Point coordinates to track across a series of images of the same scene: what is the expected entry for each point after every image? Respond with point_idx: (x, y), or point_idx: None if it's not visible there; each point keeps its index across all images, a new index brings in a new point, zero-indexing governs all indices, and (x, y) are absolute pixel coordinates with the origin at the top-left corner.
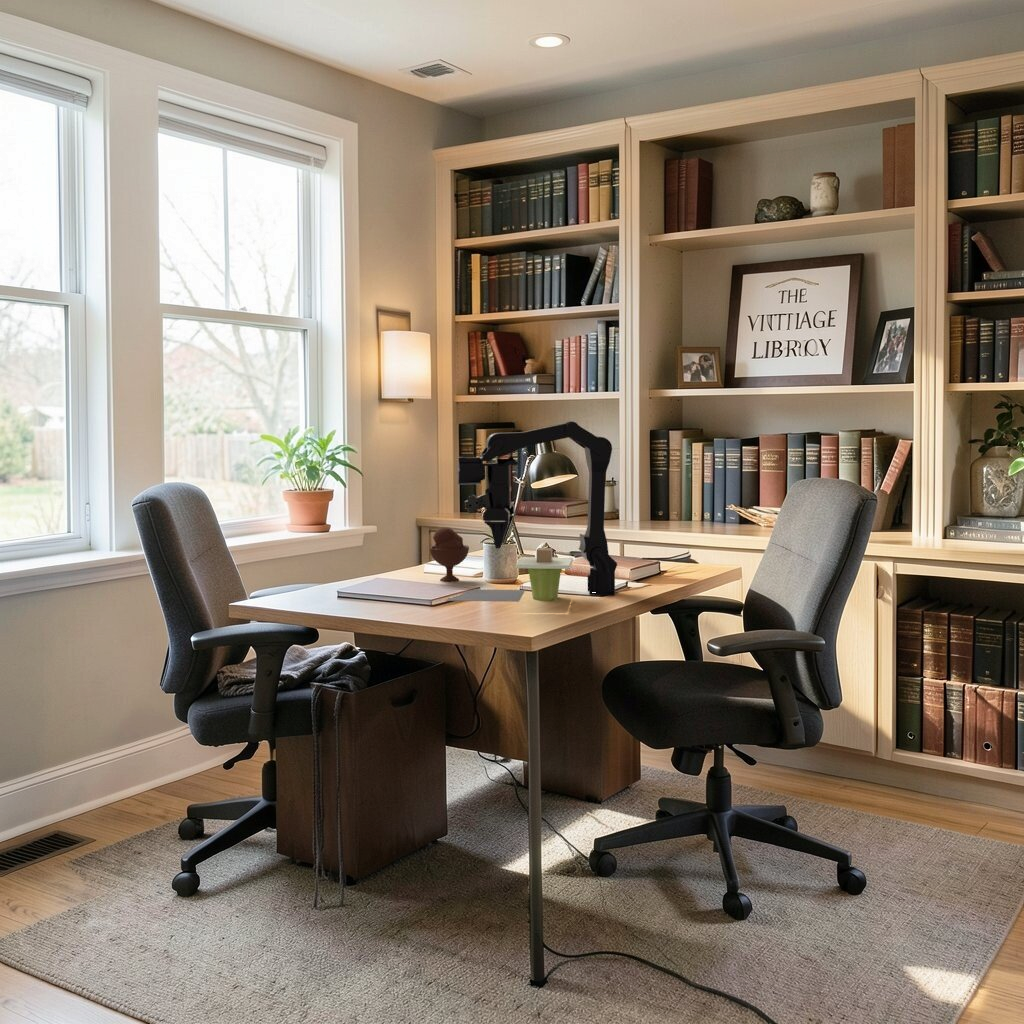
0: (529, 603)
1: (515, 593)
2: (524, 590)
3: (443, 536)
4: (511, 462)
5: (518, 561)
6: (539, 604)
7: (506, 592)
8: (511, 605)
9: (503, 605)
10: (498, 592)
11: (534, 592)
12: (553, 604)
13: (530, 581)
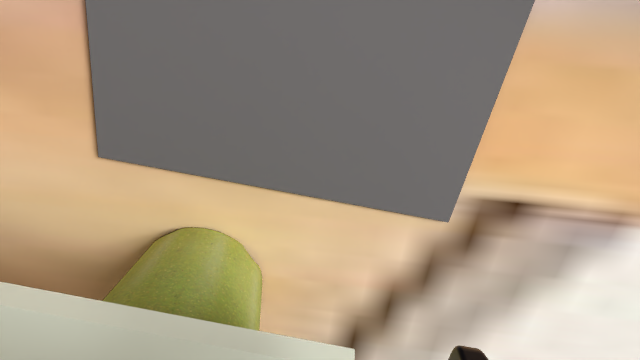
0: (88, 199)
1: (342, 165)
2: (432, 218)
3: None
4: None
5: (100, 326)
6: (70, 235)
7: (384, 119)
8: (15, 110)
9: (5, 68)
10: (393, 71)
11: (147, 254)
12: (80, 284)
13: (156, 280)
